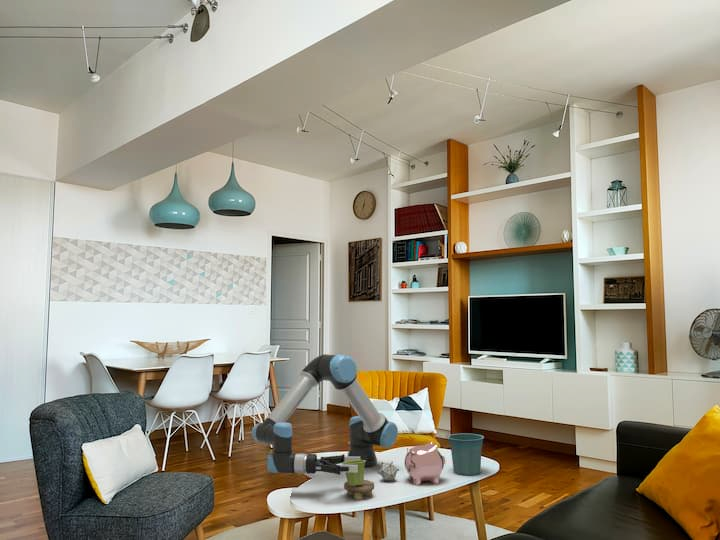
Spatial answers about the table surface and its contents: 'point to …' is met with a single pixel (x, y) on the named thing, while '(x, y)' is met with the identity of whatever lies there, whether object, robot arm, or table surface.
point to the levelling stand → (359, 489)
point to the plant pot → (355, 477)
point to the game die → (388, 471)
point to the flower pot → (466, 453)
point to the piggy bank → (424, 463)
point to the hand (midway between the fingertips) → (359, 464)
